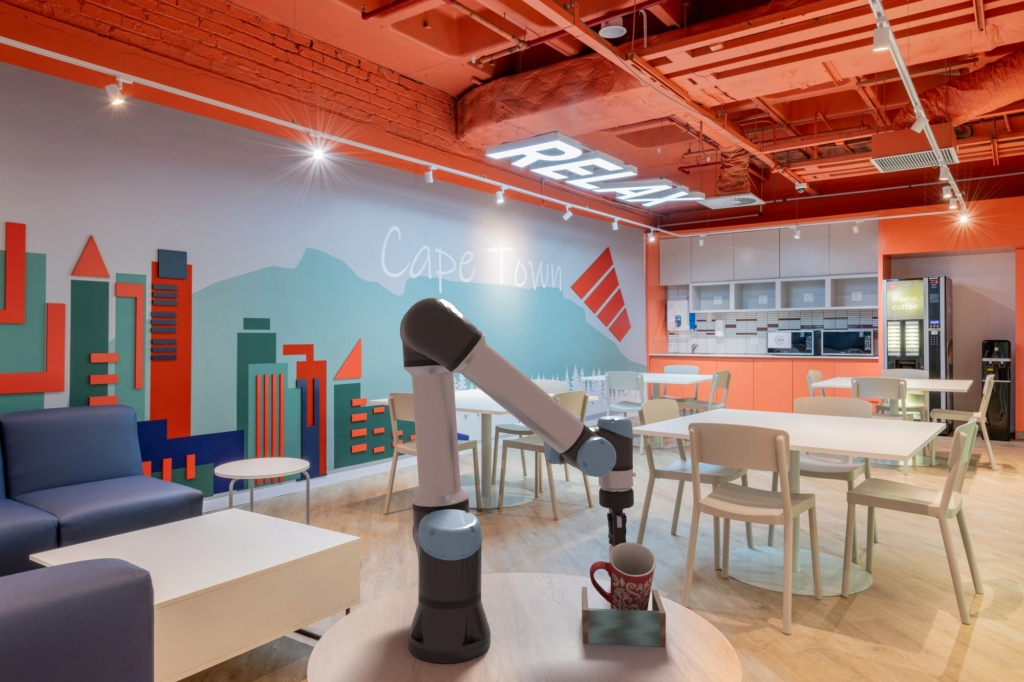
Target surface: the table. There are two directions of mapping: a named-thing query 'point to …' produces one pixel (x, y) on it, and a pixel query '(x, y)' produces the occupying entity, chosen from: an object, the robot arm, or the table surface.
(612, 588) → the mug
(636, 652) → the table surface
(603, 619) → the dock
